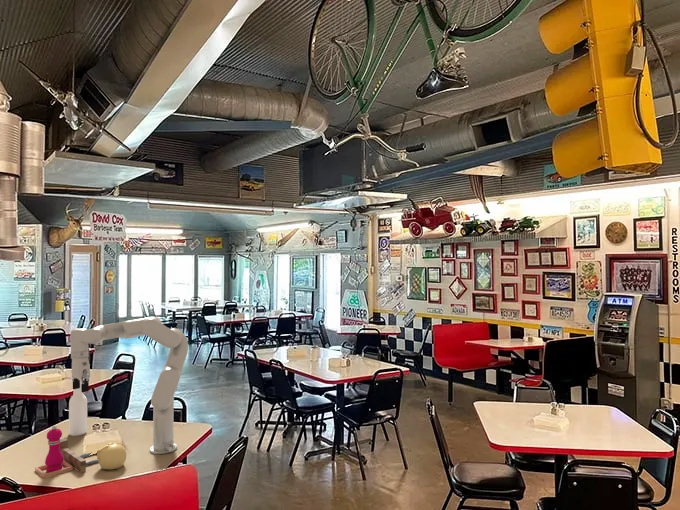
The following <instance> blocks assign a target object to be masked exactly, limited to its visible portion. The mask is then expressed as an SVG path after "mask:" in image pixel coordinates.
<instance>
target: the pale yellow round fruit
mask: <svg viewBox="0 0 680 510" xmlns="http://www.w3.org/2000/svg"><path fill="white" fill-rule="evenodd" d="M123 444H124V443H122V442H108V443H106V444H104V446H102V447H100V448H97V454H96V459H98V464H99V467H100V468H101V469H103V470H115V469H118V468H121V467H122V466H124V464H125V463H126V460H127V450H126V448H125V447H124V445H123Z"/></svg>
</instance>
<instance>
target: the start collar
mask: <svg viewBox="0 0 680 510" xmlns="http://www.w3.org/2000/svg"><path fill="white" fill-rule="evenodd" d="M90 452H91V453H92V452H93V451H90ZM91 453H89V452H86V453H83V454H78V455H79V456H80V457H82V458H83V459H85V458H87V456H88V457H90V456H89V455H90V454H91ZM97 463H98V464H99V462H98V459H97V458H96V459H91V460H88V461H86V467H88V466H91V465H94V464H97Z"/></svg>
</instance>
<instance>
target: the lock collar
mask: <svg viewBox="0 0 680 510" xmlns="http://www.w3.org/2000/svg"><path fill="white" fill-rule="evenodd" d="M61 464H62V466H64V468H62V469H60V470H57V471H53V472H50V473H47V472H46V473H45V472H44V471H43V470H45V469H46V468H47V467H48V466H47V465H46V464H44V465H43V464H42V465H39V466H35V467H34V471H35V472H36V473H37V474H38V475H40V477H42V478H43V479H47V478H50V477H54V476H56V475H60V474H64V473H67V472H70V471H73V470H74V468H73V466H71V465H70V464H69V463H67V462H66V461H64V460H63V462H62V463H61ZM46 477H47V478H46Z"/></svg>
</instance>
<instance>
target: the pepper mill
mask: <svg viewBox="0 0 680 510" xmlns="http://www.w3.org/2000/svg"><path fill="white" fill-rule="evenodd" d="M51 428H52V429H50V430H49V431H48V432H47V433H46V439H47V445H48V452H47V454H46V457H45V460H44V465H47V466H48V467H47V468H46V470H45V471H46V473H50V472H53V471H57V470H60V469H63V464H61V463H62V462H63V460H64V458H63V454H62V453H61V451H60V446H59V445H60V442H61V441H60V440H61V439H62V436H63V431H62V430H61V429H60V428H58V427H57V425H53V426H52V427H51Z"/></svg>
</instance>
